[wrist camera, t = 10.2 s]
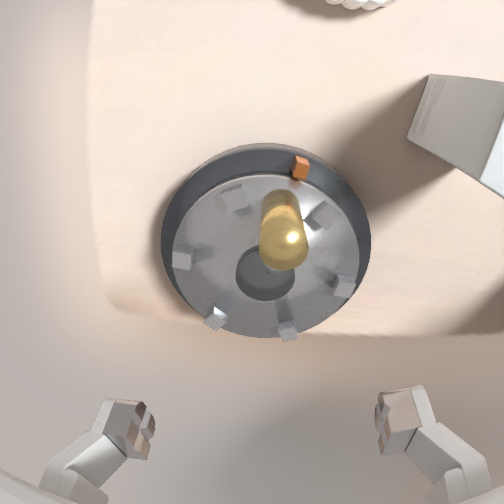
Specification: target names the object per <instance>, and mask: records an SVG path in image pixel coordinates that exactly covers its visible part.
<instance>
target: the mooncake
mask: <svg viewBox="0 0 504 504" xmlns="http://www.w3.org/2000/svg"><path fill="white" fill-rule="evenodd" d="M325 1H326V2H327V3H329V4H332V5H338V4H342V6H344V7H345V8H347V9H350V10H355V9H358V8H359V7H361V8H363V9H365V10H374V9H376V8H377V7H379V6H382V7H387V6H389V5H391V4H393V3H395V2H397V1H399V0H325Z"/></svg>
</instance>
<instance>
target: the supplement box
mask: <svg viewBox="0 0 504 504" xmlns="http://www.w3.org/2000/svg"><path fill="white" fill-rule="evenodd" d="M407 139H408V140H409V141H411V142H413V143H415V144H417V145H418V146H420V147H422V148H424V149H426V150H427V151H429V152H431V153H433V154H434V155H436V156H438V157H439V158H441V159H443V160H444V161H446V162H448V163H449V164H451V165H453V166H454V167H456V168H457V169H459V170H461V171H462V172H464V173H465V174H467V175H469V176H470V177H472V178H473V179H475V180H476V181H478V182H479V183H481V184H482V185H484V186H485V187H487V188H488V189H490V190H491V191H493V192H494V193H496V194H497V195H499V196H500V197H502V198H503V199H504V82H499V81H492V80H485V79H478V78H470V77H461V76H450V75H438V74H430V75H429V78H428V81H427V83H426V86H425V89H424V92H423V95H422V97H421V100H420V103H419V106H418V108H417V111H416V113H415V116H414V119H413V121H412V124H411V127H410V129H409V132H408V135H407Z"/></svg>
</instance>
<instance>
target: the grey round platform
mask: <svg viewBox="0 0 504 504" xmlns="http://www.w3.org/2000/svg"><path fill="white" fill-rule="evenodd" d="M252 171H279V172H286V173H290V174H292V176H293V177H295V178H299V179H302V180H306V179H307V180H309V181H311V182H313V183H314V184H316V185H318V186H319V187H321V188H322V189H324V190H325V191H326V192H327V193H328V194H330V195H331V196H332V197H333V198H334V199H335V201H336V202H337V203H338V204H339V205H340V207H341V208H342V210H343V211H344V213H345V214H346V216H347V218H348V220H349V222H350V224H351V226H352V228H353V231H354V233H355V236H356V239H357V243H358V249H359V268H358V274H357V277H356V280H355V282H356V286H355V288H354V290H353V293H352V295H353V294H354V293H355V291H356V290H357V288H358V287H359V285H360V283H361V282H362V279H363V277H364V275H365V273H366V270H367V267H368V263H369V259H370V252H371V234H370V227H369V222H368V219H367V216H366V213H365V211H364V209H363V207H362V205H361V203H360V201H359V199H358V197H357V196H356V194H355V193H354V192H353V190H352V189H351V187H350V186H349V184H348V183H347V182H346V180H345V179H344V178H343V177H342V176H341V175H340V174H339V173H338V171H337V170H336V169H335V168H333V167H332V166H331V165H329V164H328V163H327V162H326V161H324V160H323V159H321V158H319V157H317V156H316V155H314V154H312V153H310V152H307V151H305V150H302V149H300V148H296V147H292V146H288V145H284V144H275V143H255V144H249V145H243V146H239V147H235V148H232V149H229V150H226V151H224V152H222V153H220V154H218V155H216V156H214V157H212V158H211V159H209V160H208V161H206V162H205V163H203V164H202V165H201V166H200V167H199V168H197V169H196V170H195V171H194V172H193V173H192V174H191V175H190V177H189V178H188V179H187V180H186V181H185V183H184V184H183V185H182V187H181V188H180V189H179V190H178V192H177V193H176V195H175V196H174V198H173V200H172V201H171V203H170V205H169V207H168V210H167V212H166V215H165V217H164V222H163V226H162V232H161V253H162V258H163V262H164V266H165V269H166V271H167V274H168V276H169V278H170V280H171V282H172V284H173V286H174V287H175V289H176V290H177V292H178V293H179V294H180V296H181V297H182V298H183V299H184V300H185V301H186V302H187V303H188V304H189V302H188V301H187V300H186V298H185V297H184V295H183V294H182V292H181V290H180V288H179V286H178V284H177V282H176V278H175V275H174V271H173V267H172V249H173V242H174V239H175V236H176V232H177V230H178V228H179V226H180V224H181V222H182V220H183V218H184V216H185V215H186V213H187V211H188V210H189V208H190V207H191V206H192V204H193V203H194V202H195V201H196V200H197V198H198V197H199V196H200V195H201V194H202V193H204V192H205V191H206V190H207V189H209V188H210V187H211V186H213V185H215V184H216V183H218V182H220V181H222V180H224V179H226V178H229V177H231V176H234V175H237V174H241V173H245V172H252ZM352 295H351V297H352ZM351 297H350V298H351ZM350 298H346V300H345V301H344V303H343V304H342V305H341V306H340V307H339V308H338V310H339V309H340V308H341V307H342V306H343V305H344V304H345V303H346V302H347V301H348V300H349V299H350ZM189 305H190V304H189ZM190 306H191V305H190ZM191 307H192V306H191ZM192 308H193V307H192ZM193 309H194V308H193ZM194 310H195V309H194ZM338 310H337V311H338ZM335 312H336V311H335ZM335 312H334V313H335ZM334 313H333V314H334Z"/></svg>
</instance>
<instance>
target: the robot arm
mask: <svg viewBox="0 0 504 504" xmlns="http://www.w3.org/2000/svg"><path fill="white" fill-rule="evenodd" d="M378 401H379V404H377V405H376V408H375V425H376V430H377V431H378V432H379V433H381V434H380V437H379V440H378V442H379V447H380V452H381V456H387V455H393V454H398V453H403V452H405V453H404V454H406V456H407V457H408V458H409V459H410V460H411V461H412V462H413V463H414V464H415V465H416V467H417V468H418V469H419V470H420V471H421V472H422V473H423V474H424V475H425V476H426V477H427V478H428V479H429V480H430V481H431V482H432V483H433V484H434V485H433V486H432V487H431V488H430V489H429V490H428V491H427V492H426V493H425V494H424V496H423V497H422V499H423V504H504V485H501V486H499V487H497V488H495V489H494V488H493V485H492V481H491V478H490V474H489V471H488V468H487V464H486V461H485V458H484V457H483V456H482V455H481V454H480V453H478V452H477V451H476V450H474V449H473V448H472V447H471V446H469V445H468V444H467V443H465V442H464V441H463V440H462V439H460V438H459V437H458V436H457V435H455V434H454V433H453V432H451V431H450V430H449V429H448V428H446V427H445V426H444V425H443V424H441V423H436V420H435V417H434V414H433V411H432V408H431V405H430V402H429V399H428V396H427V394H426V391H425V388H424V387H423V385H417V386H412V387H408V388H407V387H406V388H402V389H396V390H391V391H386V392H381V393H380V394H379V396H378ZM154 431H155V421H154V417H153V416H152V414H151V413H150V412H148V411H146V405H145V404H144V403H143V402H139V401H130V400H121V399H114V398H106V399H105V400H104V401H103V402H102V404H101V407H100V409H99V412H98V414H97V416H96V419H95V421H94V424H93V426H92V429H91V431H87V432H85V433H84V434H83V435H82V436H80V437H79V438H78V439H77V440H75V441H74V442H73V443H71V444H70V445H69V446H68V447H66V448H65V449H64V450H62V451H61V452H60V453H59V454H57V455H56V456H55V457H53V458H52V459H51V460H50V461H49V462H48V464H47V467H46V469H45V471H44V474H43V477H42V479H41V481H40V484H39V487H37V486H34V485H32V484H30V483H28V482H26V481H24V480H22V479H20V478H18V477H16V476H14V475H11V474H10V473H8V472H6V471H4V470H2V469H0V504H107V503H108V499H109V497H108V495H107V494H105V493H104V492H103V491H101V490H100V489H99V488H100V487H101V486H102V484H103V483H104V482H105V481H106V480H107V479H108V478H109V477H110V476H111V475H112V474H113V473H114V472H115V471H116V470H117V469H118V468H119V467H120V466H121V465H122V463H124V462H125V460H126V459H127V457H129V458H135V459H142V460H147V457H148V453H149V449H150V444H149V441H148V440H149V439H150V438H151V437H153V435H154Z"/></svg>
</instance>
